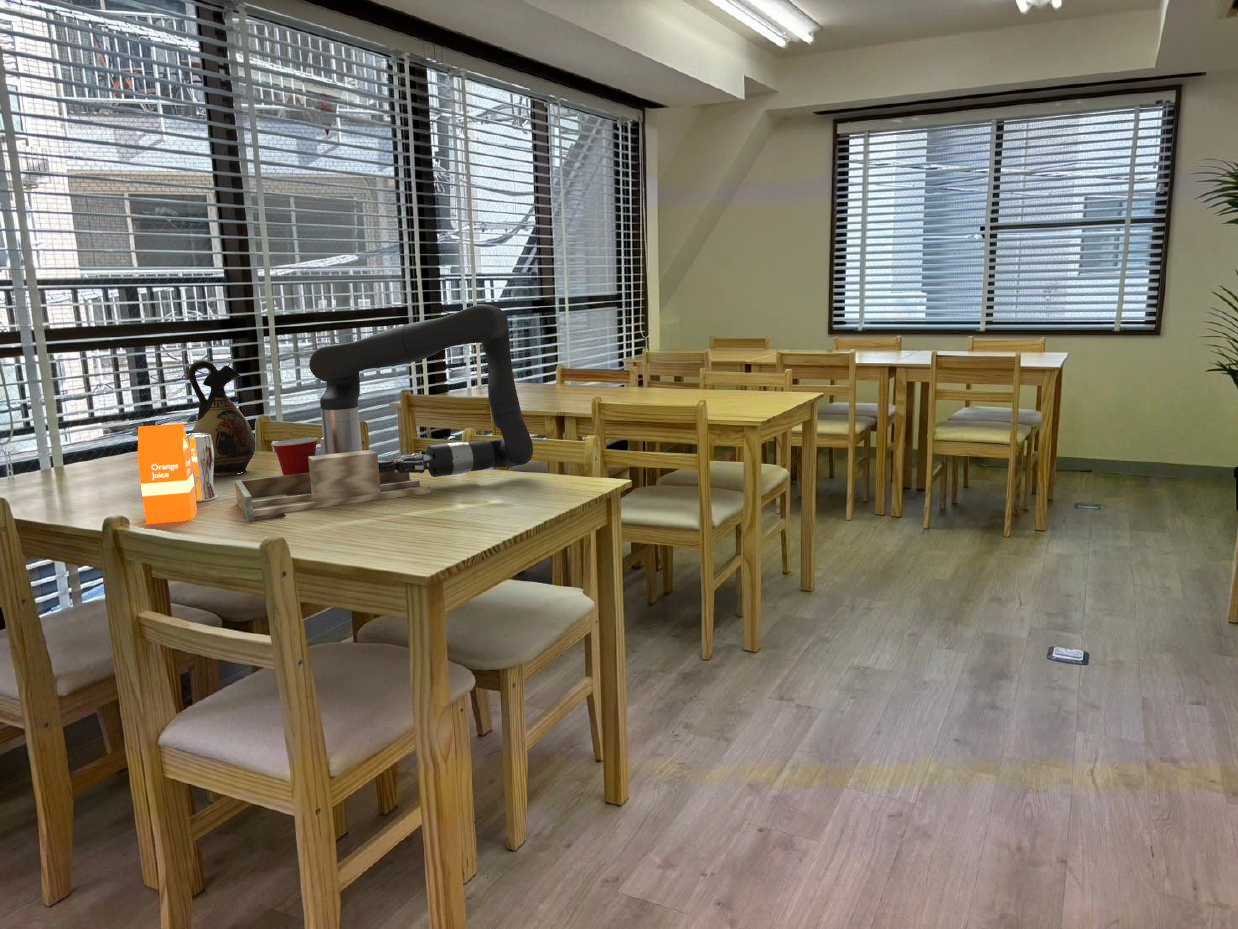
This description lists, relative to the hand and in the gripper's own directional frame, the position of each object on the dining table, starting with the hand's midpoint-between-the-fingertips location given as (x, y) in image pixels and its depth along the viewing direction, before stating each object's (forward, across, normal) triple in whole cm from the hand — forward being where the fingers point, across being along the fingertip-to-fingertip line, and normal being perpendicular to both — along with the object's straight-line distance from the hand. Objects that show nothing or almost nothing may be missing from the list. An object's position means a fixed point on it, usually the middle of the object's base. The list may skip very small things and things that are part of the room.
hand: (376, 467), depth 205 cm
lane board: (+9, -4, +7) cm, 12 cm away
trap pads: (+5, -8, +6) cm, 12 cm away
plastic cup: (+13, -23, +7) cm, 27 cm away
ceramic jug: (+27, -54, +7) cm, 61 cm away
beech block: (+7, 0, +6) cm, 9 cm away
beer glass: (+35, -24, +7) cm, 43 cm away
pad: (+22, -8, +6) cm, 25 cm away
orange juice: (+42, -8, +7) cm, 43 cm away
